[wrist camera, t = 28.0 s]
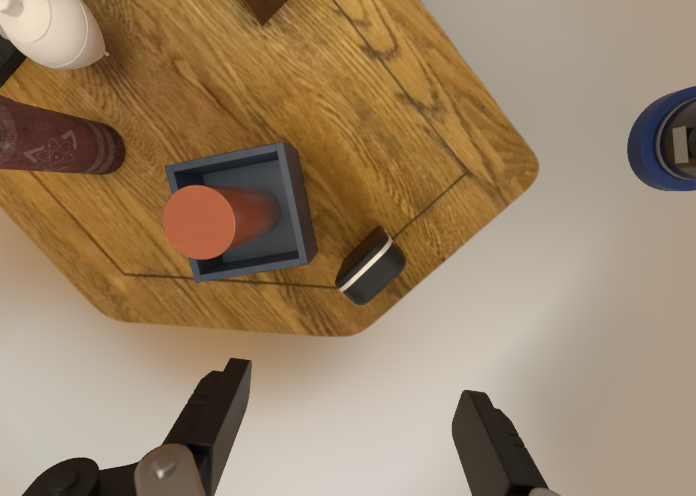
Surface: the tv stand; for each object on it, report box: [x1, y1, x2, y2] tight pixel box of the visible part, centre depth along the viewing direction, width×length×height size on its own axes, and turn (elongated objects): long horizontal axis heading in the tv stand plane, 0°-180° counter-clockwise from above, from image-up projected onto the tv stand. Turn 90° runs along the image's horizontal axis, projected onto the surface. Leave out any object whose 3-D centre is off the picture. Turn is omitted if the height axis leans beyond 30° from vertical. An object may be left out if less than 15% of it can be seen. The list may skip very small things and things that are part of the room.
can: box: [0, 95, 124, 175], centre depth 34 cm, size 6×6×14 cm
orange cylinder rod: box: [163, 185, 281, 260], centre depth 34 cm, size 6×6×14 cm
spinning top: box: [0, 0, 109, 70], centre depth 33 cm, size 8×8×12 cm
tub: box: [165, 142, 318, 283], centre depth 38 cm, size 13×13×7 cm
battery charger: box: [335, 226, 406, 305], centre depth 36 cm, size 7×4×11 cm, turn 135°
